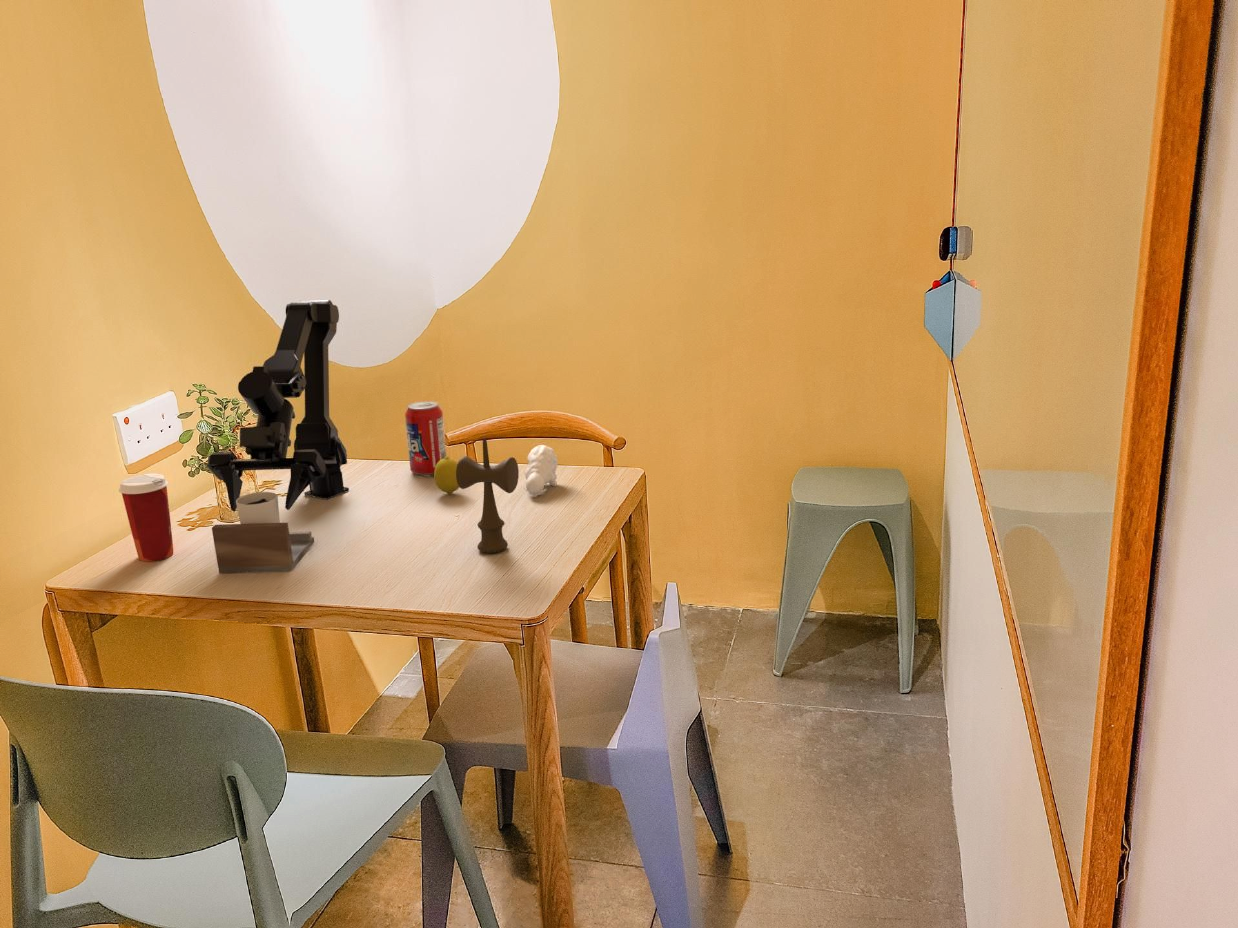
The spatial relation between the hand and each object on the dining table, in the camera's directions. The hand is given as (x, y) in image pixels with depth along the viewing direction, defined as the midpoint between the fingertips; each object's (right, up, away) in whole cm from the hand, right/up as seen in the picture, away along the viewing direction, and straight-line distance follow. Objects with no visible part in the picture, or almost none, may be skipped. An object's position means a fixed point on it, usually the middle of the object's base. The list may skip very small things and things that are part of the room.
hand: (260, 509), depth 169 cm
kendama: (+39, -7, +3) cm, 40 cm away
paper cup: (-20, -8, +6) cm, 22 cm away
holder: (0, -8, +3) cm, 9 cm away
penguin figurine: (+45, +2, +33) cm, 55 cm away
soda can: (+20, +6, +47) cm, 51 cm away
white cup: (0, -8, +2) cm, 8 cm away
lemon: (+27, +1, +32) cm, 42 cm away
